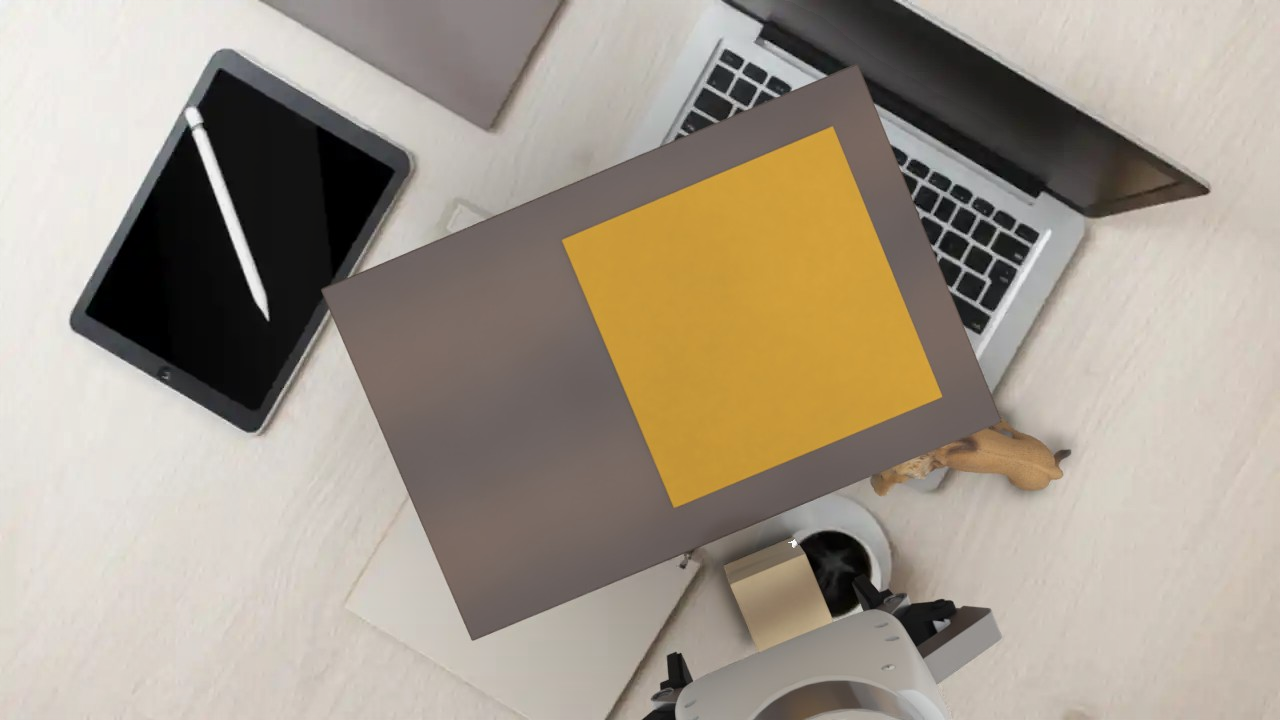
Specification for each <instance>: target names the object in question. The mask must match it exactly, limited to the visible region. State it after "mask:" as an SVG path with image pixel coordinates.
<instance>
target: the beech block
mask: <svg viewBox="0 0 1280 720" xmlns="http://www.w3.org/2000/svg"><path fill="white" fill-rule="evenodd" d="M794 539H796V538H795V537H794V536H792V537H788V538H787V539H784V540H782V541H780V542H777V543H774V544H772V545H770V546H767V547H765V548H762V549H760V550H757V551H755V552H753V553H750V554H747V555H746V556H743V557H741V558H738V559H735V560H733V561H731V562H729V563H726V564H724V565H723V569H724V571H725V574H726V578H727V580H728V584H729V585H730V588H731V591H732V593H733V596H734V598H735V600H736V603H737V605H738V608H739V611H740V613H741V615H742V617H743V620H744V622H745V625H746V627H747V629H748V632H749V634H750V637H751V640H752V642H753V643H754V646H755V648H756V651H757V653H758V652H761V651H763V650H765V649H768V648H770V647H773V646H775V645H777V644H780V643H782V642H785V641H787V640H790V639H792V638H795V637H797V636H799V635H802V634H804V633H807V632H809V631H812V630H814V629H817V628H819V627H822V626H824V625H827V624H829V623H832V622H834V619H833V617H832V614H831V612H830V609H829V607H828V605H827V603H826V600H825V597H824V594H823V592H822V589H821V588H820V586H819V583H818V581H817V577H816V575H815V573H814V571H813V568H812V566H811V563H810V561H809V559H808V557H807V554H806V552H805V551H804V549H803V548H802V546H801V545H800V544H799V545H798V546H797V547H795V548H793V547H792V543H788V542H791V541H793V540H794Z"/></svg>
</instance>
